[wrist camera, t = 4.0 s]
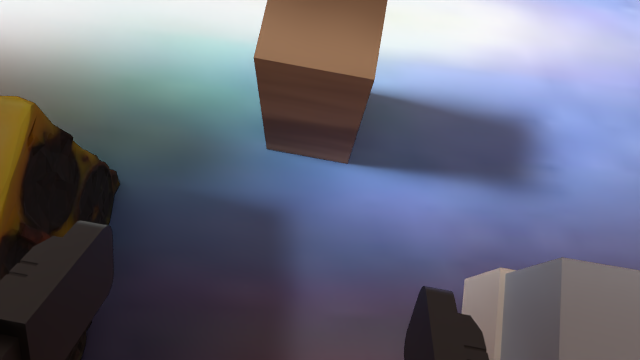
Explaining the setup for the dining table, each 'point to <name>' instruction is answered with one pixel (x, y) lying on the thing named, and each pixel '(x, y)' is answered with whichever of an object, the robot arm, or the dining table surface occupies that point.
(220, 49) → the dining table surface
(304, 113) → the pillar
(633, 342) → the block
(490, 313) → the tower base
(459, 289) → the dining table surface
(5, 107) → the yellow patterned cube
